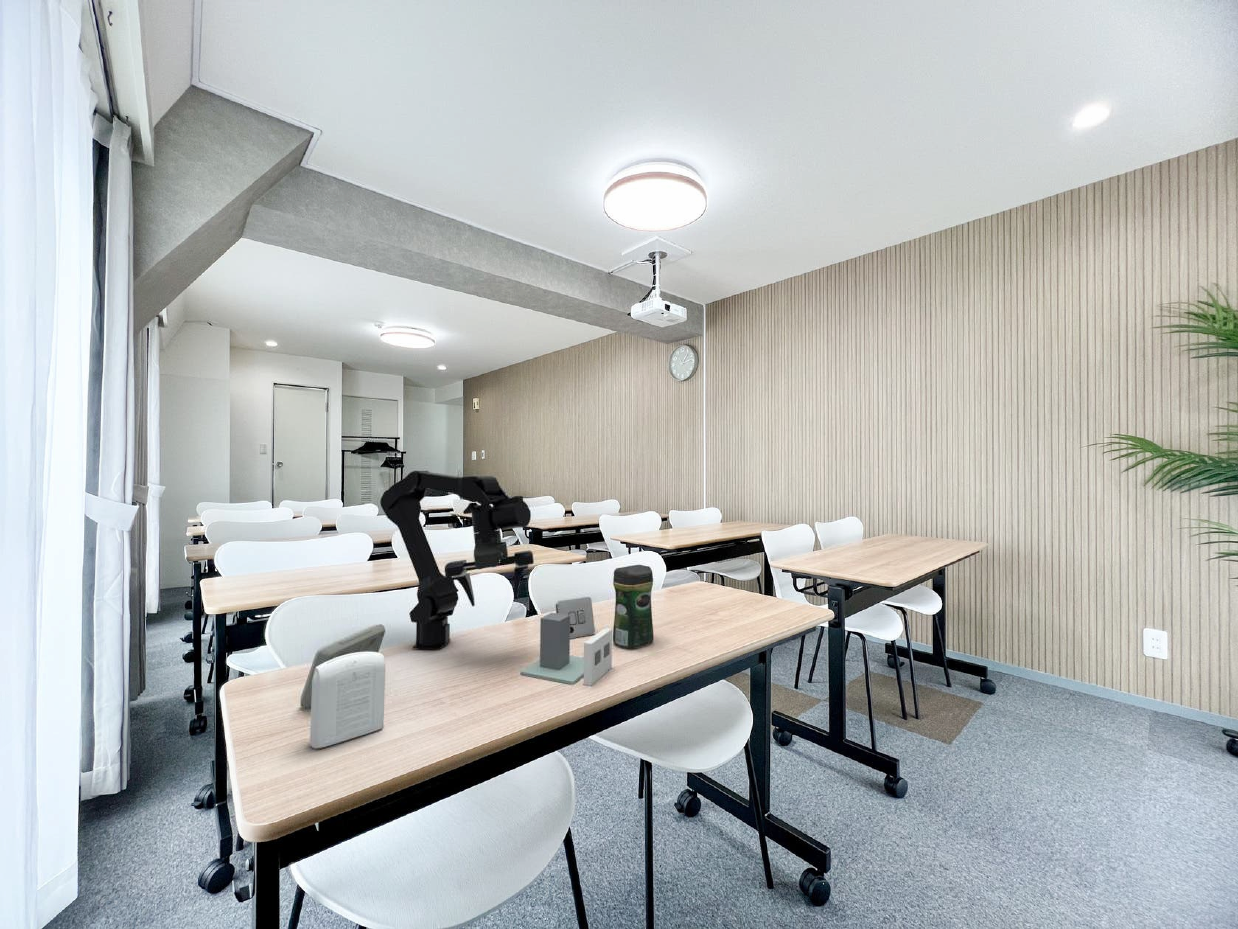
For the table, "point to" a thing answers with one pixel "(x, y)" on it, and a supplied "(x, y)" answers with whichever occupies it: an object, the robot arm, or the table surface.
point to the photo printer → (347, 698)
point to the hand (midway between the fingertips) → (495, 602)
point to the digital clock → (343, 653)
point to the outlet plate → (597, 656)
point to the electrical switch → (578, 615)
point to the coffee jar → (633, 606)
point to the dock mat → (558, 671)
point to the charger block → (555, 641)
